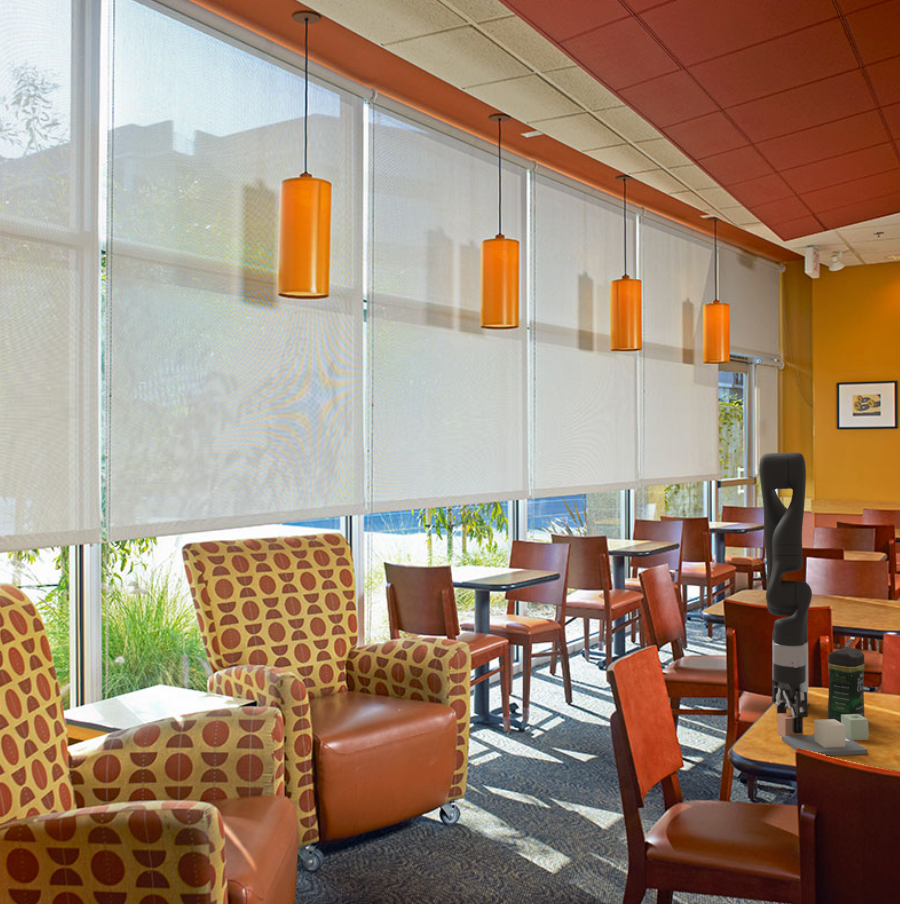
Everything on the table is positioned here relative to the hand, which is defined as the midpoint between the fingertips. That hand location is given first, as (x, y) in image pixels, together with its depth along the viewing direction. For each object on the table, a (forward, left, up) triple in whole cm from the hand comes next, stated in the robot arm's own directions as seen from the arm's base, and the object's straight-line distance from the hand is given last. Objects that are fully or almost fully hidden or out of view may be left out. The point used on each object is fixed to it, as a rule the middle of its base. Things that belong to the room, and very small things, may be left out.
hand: (789, 727), depth 228 cm
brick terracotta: (0, 0, -2) cm, 2 cm away
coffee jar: (-10, +20, -2) cm, 23 cm away
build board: (+9, +4, -2) cm, 10 cm away
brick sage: (+3, +15, -2) cm, 16 cm away
